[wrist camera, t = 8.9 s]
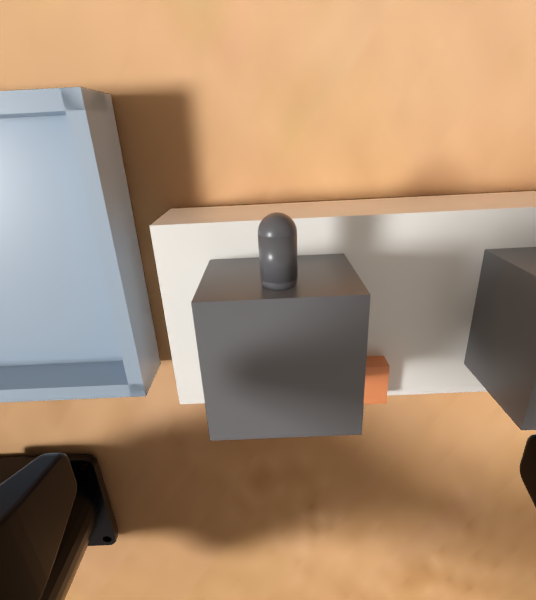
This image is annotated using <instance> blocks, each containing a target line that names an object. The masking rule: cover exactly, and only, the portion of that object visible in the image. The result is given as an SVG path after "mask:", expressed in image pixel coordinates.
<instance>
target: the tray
mask: <svg viewBox="0 0 536 600" xmlns="http://www.w3.org/2000/svg"><path fill="white" fill-rule="evenodd" d="M160 364H161V363H160V357H159V352H158V346H157V341H156V336H155V330H154V325H153V319H152V314H151V309H150V303H149V298H148V293H147V287H146V282H145V276H144V271H143V266H142V260H141V255H140V249H139V244H138V239H137V233H136V228H135V222H134V217H133V212H132V206H131V201H130V195H129V190H128V185H127V179H126V174H125V169H124V163H123V158H122V152H121V147H120V142H119V136H118V131H117V125H116V120H115V115H114V109H113V104H112V98H111V94H107V93H103V92H99V91H95V90H91V89H87V88H83V87H70V88H51V89H32V90H14V91H0V402H22V401H45V400H69V399H92V398H115V397H139V396H146V395H147V393H148V390H149V388H150V386H151V384H152V382H153V379H154V377H155V375H156V373H157V371H158V368H159V366H160Z"/></svg>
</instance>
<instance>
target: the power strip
mask: <svg viewBox="0 0 536 600" xmlns="http://www.w3.org/2000/svg"><path fill="white" fill-rule="evenodd" d="M275 212H280V213H284V214H286V215H288V216H289V217H291V219H292V220H293V221H294V223H295V225H296V228H297V256H299V255H320V254H342V253H344V254H345V256H346V258H347V259H348V261H349V262H350V264H351V265H352V267H353V268H354V270H355V271H356V273H357V274H358V276H359V277H360V279H361V281H362V282H363V284H364V285H365V287H366V288H367V290H368V291H369V293H370V294H371V296H370V311H369V327H368V342H367V358H366V374H365V389H364V404H378V403H386V401H387V395H409V394H433V393H456V392H480V391H488V392H489V393H490V395H491V396H492V397H493V398H494V399H495V400H496V402H497V403H498V404H499V405H500V406H501V407H502V409H503V410H504V411H505V412H506V413H507V414H508V416H509V417H510V418H511V419H512V420H513V421H514V423H515V424H516V425H517V426H518V427H519V428H520V429H521V430H536V191H521V192H500V193H480V194H459V195H439V196H419V197H398V198H378V199H357V200H337V201H317V202H296V203H276V204H255V205H235V206H215V207H194V208H174V209H170V210H168V211H167V212H166V213H165V214H163V215H162V216H161V217H160V218H158V219H157V220H156V221H155V222H153V223H152V224H151V225H150V226H149V227H150V233H151V238H152V244H153V250H154V256H155V262H156V268H157V274H158V279H159V285H160V291H161V297H162V303H163V309H164V315H165V320H166V326H167V332H168V338H169V344H170V350H171V356H172V361H173V367H174V373H175V379H176V385H177V391H178V397H179V402H180V404H197V403H205V400H204V393H203V386H202V378H201V371H200V364H199V357H198V349H197V342H196V335H195V327H194V320H193V313H192V306H191V302H192V299H193V297H194V295H195V292H196V290H197V288H198V286H199V283H200V281H201V279H202V277H203V274H204V272H205V270H206V267H207V265H208V263H209V261H210V260H213V259H234V258H256V257H259V248H258V227H259V224H260V222H261V221H262V219H263V218H264V217H265V216H267V215H269V214H271V213H275Z"/></svg>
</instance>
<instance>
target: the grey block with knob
mask: <svg viewBox="0 0 536 600" xmlns="http://www.w3.org/2000/svg"><path fill="white" fill-rule="evenodd" d="M258 248H259V257H256V258H234V259H213V260H210V261H209V263H208V265H207V267H206V270H205V272H204V274H203V277H202V279H201V281H200V283H199V286H198V288H197V290H196V292H195V295H194V297H193V299H192V302H191V306H192V313H193V320H194V327H195V335H196V342H197V349H198V357H199V364H200V371H201V378H202V386H203V393H204V400H205V407H206V415H207V422H208V429H209V436H210V441H216V440H240V439H265V438H289V437H314V436H338V435H362V420H363V405H364V389H365V374H366V358H367V342H368V327H369V311H370V296H371V294H370V293H369V291H368V290H367V288H366V287H365V285H364V284H363V282H362V281H361V279H360V277H359V276H358V274H357V273H356V271H355V270H354V268H353V267H352V265H351V264H350V262H349V261H348V259H347V258H346V256H345V254H344V253H342V254H320V255H299V256H297V228H296V225H295V223H294V221H293V220H292V219H291V217H289V216H288V215H286V214H284V213H280V212H275V213H271V214H269V215H267V216H265V217H264V218H263V219H262V221H261V222H260V224H259V227H258Z"/></svg>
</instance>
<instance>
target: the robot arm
mask: <svg viewBox="0 0 536 600" xmlns="http://www.w3.org/2000/svg"><path fill="white" fill-rule="evenodd" d="M86 464H87V465H86ZM520 474H521V478H522V480H523V482H524V484H525V486H526V489H527V491H528V493H529V495H530V497H531V499H532V501H533V503H534V505H535V507H536V435H531V436H530V437H529V438H528V440H527V442H526V446H525V449H524V453H523V456H522V460H521V463H520ZM117 537H118V530H117V526H116V523H115V519H114V516H113V513H112V509H111V506H110V503H109V499H108V496H107V493H106V489H105V486H104V483H103V479H102V476H101V472H100V469H99V466H98V462H97V460H96V458H95V457H94V456H92V455H89V454H73V455H66V454H65V453H45V454H42V455H40V456H24V457H0V600H64V599H65V597H66V595H67V592H68V590H69V588H70V585H71V583H72V581H73V578H74V576H75V574H76V571H77V569H78V567H79V565H80V562H81V560H82V558H83V555H84V553H85V551H86V548H87V546H96V545H112V544H114V543H115V542H116V539H117Z"/></svg>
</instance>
